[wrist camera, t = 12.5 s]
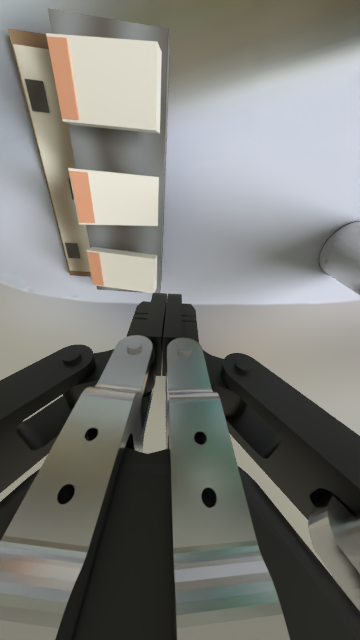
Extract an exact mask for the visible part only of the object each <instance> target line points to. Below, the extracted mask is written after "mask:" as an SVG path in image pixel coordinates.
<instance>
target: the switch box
mask: <svg viewBox="0 0 360 640" xmlns="http://www.w3.org/2000/svg"><path fill="white" fill-rule="evenodd" d="M48 12H49V18H50V24H51V29H52V34H63V35H76V36H90V37H103V38H117V39H130V40H143V41H157V42H158V44H159V47H160V49H161V52H162V61H161V107H160V134H158V133H148V132H138V131H128V130H118V129H108V128H98V127H88V126H78V125H71V124H69V123H66V122H63V121H62V116H61V111H60V105H59V100H58V95H57V89H56V84H55V79H54V73H53V68H52V63H51V57H50V52H49V47H48V41H47V36H46V35H45V34H39V33H32V32H26V31H20V30H13V29H8V32H9V36H10V40H11V44H12V48H13V52H14V56H15V60H16V64H17V68H18V72H19V76H20V80H21V84H22V88H23V91H24V95H25V99H26V103H27V107H28V111H29V115H30V119H31V123H32V127H33V131H34V135H35V139H36V143H37V147H38V150H39V154H40V158H41V162H42V166H43V170H44V174H45V178H46V182H47V186H48V190H49V194H50V198H51V202H52V206H53V209H54V213H55V217H56V221H57V225H58V229H59V233H60V237H61V241H62V245H63V249H64V253H65V257H66V261H67V265H68V268H69V272H70V275H76V276H91V272H90V266H89V261H88V256H87V250H88V249H89V248H91V247H99V248H106V249H114V250H122V251H123V250H125V251H130V252H137V253H145V254H152V255H157V289H156V291H155V293H160V288H161V278H162V251H163V224H164V197H165V170H166V143H167V116H168V88H169V61H170V55H169V29H167V28H161V27H155V26H149V25H143V24H137V23H131V22H125V21H119V20H113V19H107V18H101V17H95V16H89V15H83V14H77V13H71V12H65V11H59V10H53V9H48ZM68 168H76V169H86V170H96V171H105V172H115V173H125V174H135V175H144V176H154V177H159V194H158V226H130V225H81V224H79V222H78V216H77V211H76V206H75V201H74V196H73V191H72V186H71V181H70V175H69V170H68ZM97 289H99V290H115V291H130V292H139V291H132V290H125V289H118V288H110V287H103V286H97ZM145 293H146V292H145Z"/></svg>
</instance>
